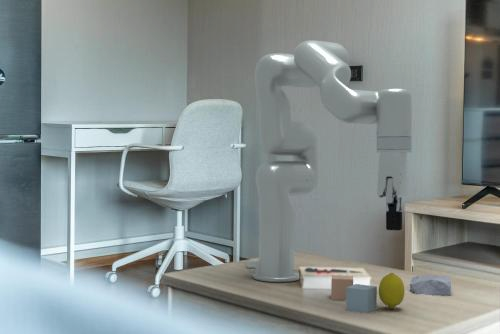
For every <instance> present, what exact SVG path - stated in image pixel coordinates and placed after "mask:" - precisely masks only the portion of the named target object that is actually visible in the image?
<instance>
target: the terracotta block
mask: <svg viewBox="0 0 500 334" xmlns="http://www.w3.org/2000/svg"><path fill="white" fill-rule="evenodd" d="M352 285H354V275H337V274H335V275H334V274H332V275H331V291H330V292H331V294H330V297H331V298H330V300H331V301H345V302H346V287H349V286H352Z"/></svg>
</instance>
